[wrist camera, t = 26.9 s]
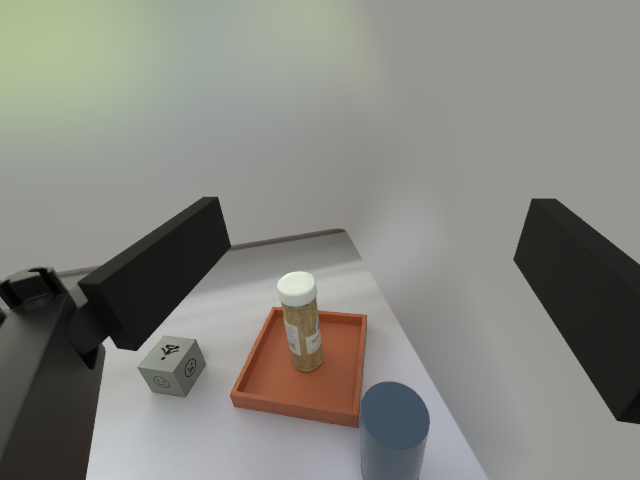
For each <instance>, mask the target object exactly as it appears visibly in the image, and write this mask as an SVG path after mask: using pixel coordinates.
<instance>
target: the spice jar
mask: <svg viewBox="0 0 640 480" xmlns="http://www.w3.org/2000/svg"><path fill="white" fill-rule="evenodd" d="M277 290H278V296H279V300H280V301H281V303H282V309H283V314H284V322H285V327H286V332H287V338H288V343H289V347H290V350H291V355H292V356H291V360H292V364H293V366H294V367H295V368H296V369H297V370H299V371H303V372H310V371H313V370H315V369H317V368H318V367H319V366H320V365H321V363H322V361H323V358H324V354H323V351H322V345H321V333H320V324H319V316H318V310H317V302H316V295H317V287H316V281H315V278H314V277H313V276H312V275H311V274H309V273H306V272H292V273H289V274H287V275H285V276H283V277H282V278H281V279H280V280H279V281H278V284H277Z"/></svg>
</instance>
